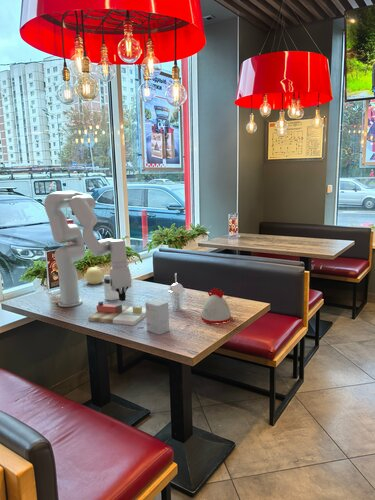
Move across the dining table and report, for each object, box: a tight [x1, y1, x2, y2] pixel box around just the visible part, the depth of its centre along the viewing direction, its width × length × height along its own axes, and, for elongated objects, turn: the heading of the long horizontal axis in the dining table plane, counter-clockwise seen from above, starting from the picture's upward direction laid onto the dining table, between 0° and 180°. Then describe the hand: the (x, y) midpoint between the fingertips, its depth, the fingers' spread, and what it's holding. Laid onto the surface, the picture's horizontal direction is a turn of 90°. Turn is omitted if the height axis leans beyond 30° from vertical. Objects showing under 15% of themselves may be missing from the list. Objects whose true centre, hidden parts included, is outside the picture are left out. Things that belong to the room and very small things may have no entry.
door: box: [112, 305, 146, 326], centre depth 186 cm, size 11×18×4 cm, turn 162°
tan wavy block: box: [88, 304, 130, 324], centre depth 189 cm, size 13×18×5 cm
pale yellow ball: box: [85, 265, 106, 285], centre depth 249 cm, size 12×12×11 cm
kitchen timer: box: [200, 287, 232, 324], centre depth 180 cm, size 14×14×15 cm
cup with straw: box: [167, 272, 186, 312], centre depth 193 cm, size 8×9×20 cm
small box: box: [145, 298, 170, 336], centre depth 168 cm, size 8×6×13 cm
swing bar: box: [96, 301, 117, 313], centre depth 189 cm, size 10×3×4 cm, turn 72°
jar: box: [103, 275, 120, 301], centre depth 216 cm, size 9×8×12 cm
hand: (122, 300), depth 194 cm, fingers closed
